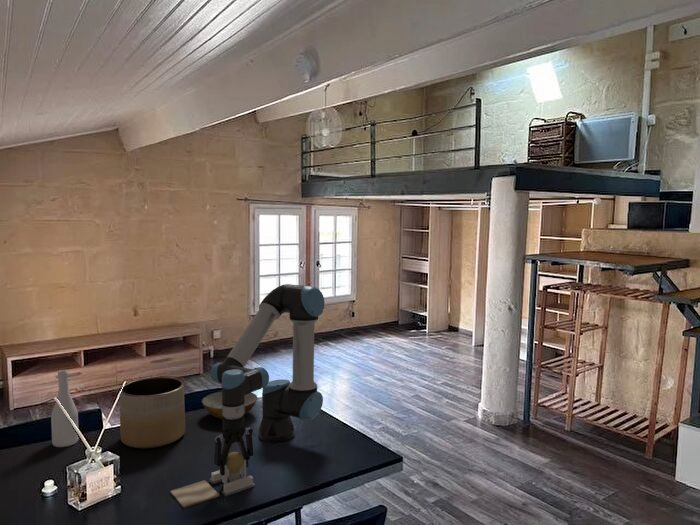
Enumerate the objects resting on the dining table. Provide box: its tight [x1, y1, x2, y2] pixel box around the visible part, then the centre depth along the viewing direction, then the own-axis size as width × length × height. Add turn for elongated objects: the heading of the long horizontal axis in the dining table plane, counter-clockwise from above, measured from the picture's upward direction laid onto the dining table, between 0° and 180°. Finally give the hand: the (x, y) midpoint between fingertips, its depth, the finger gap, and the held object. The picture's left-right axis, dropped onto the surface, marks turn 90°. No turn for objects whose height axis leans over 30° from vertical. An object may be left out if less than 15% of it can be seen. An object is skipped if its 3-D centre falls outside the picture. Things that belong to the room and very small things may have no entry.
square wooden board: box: [169, 479, 220, 509], centre depth 175 cm, size 12×12×1 cm
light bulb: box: [226, 451, 244, 482], centre depth 182 cm, size 6×6×10 cm
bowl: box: [201, 390, 258, 420], centre depth 244 cm, size 25×25×8 cm
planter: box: [119, 376, 186, 450], centre depth 218 cm, size 25×25×22 cm
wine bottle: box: [50, 369, 80, 448], centre depth 212 cm, size 10×10×30 cm
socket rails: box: [209, 469, 256, 497], centre depth 182 cm, size 13×11×3 cm
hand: (234, 479), depth 182 cm, fingers closed on light bulb, 6 cm apart
